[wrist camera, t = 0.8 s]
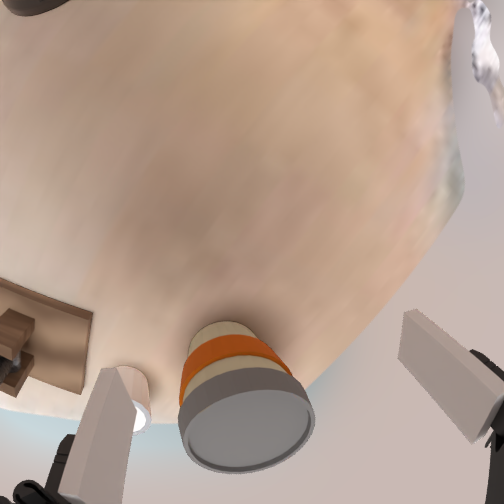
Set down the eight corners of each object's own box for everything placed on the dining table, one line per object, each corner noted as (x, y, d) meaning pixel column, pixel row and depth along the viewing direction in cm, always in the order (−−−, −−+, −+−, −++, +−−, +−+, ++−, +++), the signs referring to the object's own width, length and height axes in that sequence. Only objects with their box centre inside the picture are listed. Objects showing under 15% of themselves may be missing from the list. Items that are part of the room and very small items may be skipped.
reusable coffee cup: (273, 303, 37) (327, 374, 23) (269, 383, 40) (309, 461, 26) (169, 311, 34) (169, 396, 20) (180, 392, 37) (189, 481, 23)
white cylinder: (97, 389, 34) (88, 423, 28) (111, 353, 34) (102, 387, 27) (142, 407, 37) (141, 442, 30) (160, 374, 36) (160, 410, 29)
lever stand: (-23, 267, 27) (-61, 291, 18) (92, 312, 32) (72, 353, 24) (-21, 342, 28) (-49, 375, 20) (83, 386, 34) (70, 431, 25)
